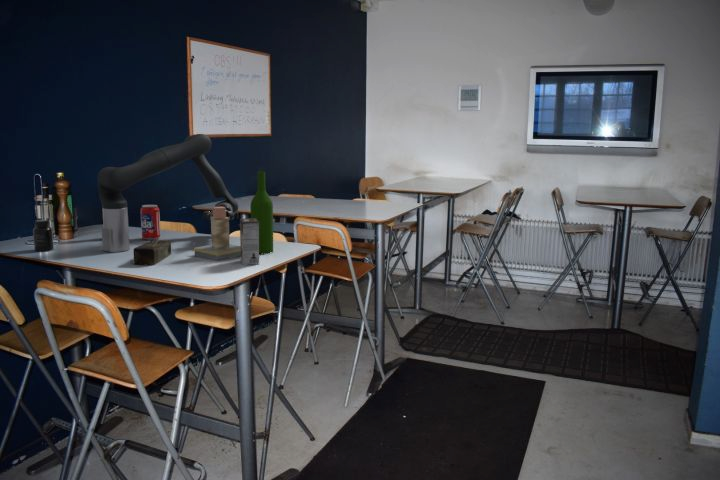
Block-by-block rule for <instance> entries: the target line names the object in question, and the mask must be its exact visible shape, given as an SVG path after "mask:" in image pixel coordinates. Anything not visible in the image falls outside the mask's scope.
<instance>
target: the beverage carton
mask: <svg viewBox="0 0 720 480" xmlns="http://www.w3.org/2000/svg"><path fill="white" fill-rule="evenodd" d="M171 255H172V241H171V240H160V239H159V238H158V239H154V240H149V241H147V242H145V243H143V244H141V245H138V246H136V247H134V248H133V265H138V266H139V265H142V266H154V265H156V264H158V263H159V262H161V261H163V260H165V259H166V258H168V257H169V256H171Z"/></svg>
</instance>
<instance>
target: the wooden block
mask: <svg viewBox="0 0 720 480" xmlns="http://www.w3.org/2000/svg"><path fill="white" fill-rule="evenodd" d="M210 218H211V219H210V225H211V226H210V231H211V232H210V235H211V236H210V237H211V245H212V248H214V249H215V250H218V249H230V245H229V244H230V219H229V218H228V217H226V218H218V219H216V218H214V217H210Z"/></svg>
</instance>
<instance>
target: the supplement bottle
mask: <svg viewBox="0 0 720 480" xmlns="http://www.w3.org/2000/svg"><path fill="white" fill-rule="evenodd" d="M49 225H50V221H49V220H48V219H38V220H37V219H36V220H35V221H34V228H33V229H32V237H33V247H34V251H35V252H50V251H49V250H51V251H53V250H54V237H53V236H54V235H53V234H54V233H53V228H52V227H51V226H49Z"/></svg>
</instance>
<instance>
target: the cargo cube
mask: <svg viewBox="0 0 720 480" xmlns="http://www.w3.org/2000/svg"><path fill="white" fill-rule="evenodd" d="M212 211H213V217H214V218H216V219H218V218H226V208H225V207H215V206H212Z"/></svg>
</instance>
